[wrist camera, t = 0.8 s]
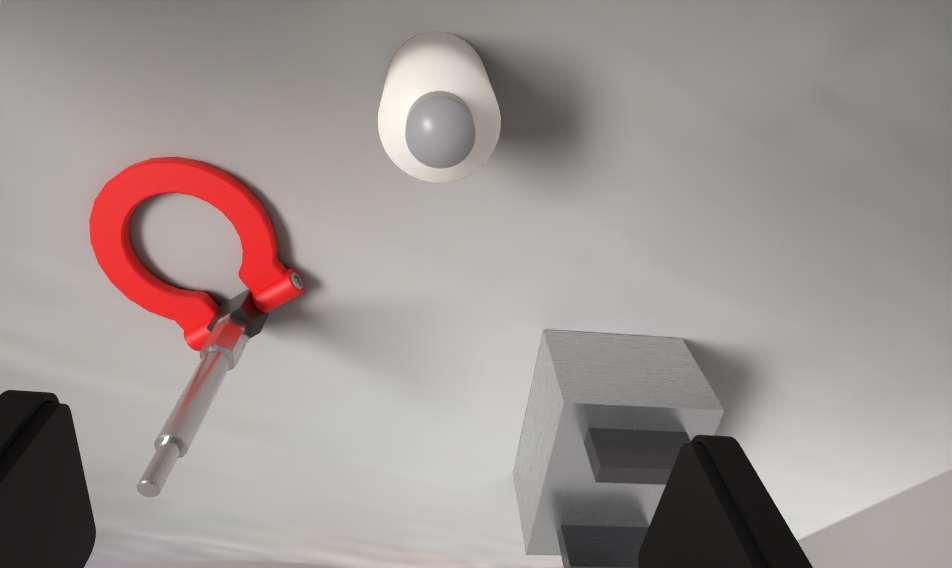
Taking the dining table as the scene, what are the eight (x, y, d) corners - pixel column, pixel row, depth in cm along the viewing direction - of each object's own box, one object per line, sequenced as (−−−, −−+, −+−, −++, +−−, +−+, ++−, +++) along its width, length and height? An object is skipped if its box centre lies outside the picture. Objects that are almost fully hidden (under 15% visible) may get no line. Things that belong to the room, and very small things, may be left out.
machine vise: (543, 329, 35) (574, 440, 28) (682, 338, 36) (747, 447, 29) (507, 498, 42) (525, 623, 34) (625, 502, 43) (666, 624, 35)
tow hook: (61, 209, 30) (195, 349, 34) (-167, 369, 19) (73, 550, 23) (200, 119, 29) (324, 276, 33) (43, 235, 17) (262, 454, 21)
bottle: (389, 25, 27) (378, 61, 21) (493, 37, 27) (513, 76, 21) (384, 128, 29) (372, 189, 23) (480, 138, 29) (494, 200, 23)
